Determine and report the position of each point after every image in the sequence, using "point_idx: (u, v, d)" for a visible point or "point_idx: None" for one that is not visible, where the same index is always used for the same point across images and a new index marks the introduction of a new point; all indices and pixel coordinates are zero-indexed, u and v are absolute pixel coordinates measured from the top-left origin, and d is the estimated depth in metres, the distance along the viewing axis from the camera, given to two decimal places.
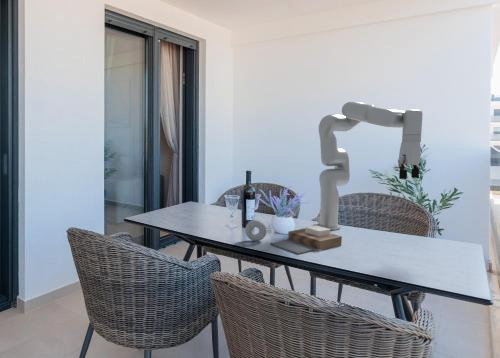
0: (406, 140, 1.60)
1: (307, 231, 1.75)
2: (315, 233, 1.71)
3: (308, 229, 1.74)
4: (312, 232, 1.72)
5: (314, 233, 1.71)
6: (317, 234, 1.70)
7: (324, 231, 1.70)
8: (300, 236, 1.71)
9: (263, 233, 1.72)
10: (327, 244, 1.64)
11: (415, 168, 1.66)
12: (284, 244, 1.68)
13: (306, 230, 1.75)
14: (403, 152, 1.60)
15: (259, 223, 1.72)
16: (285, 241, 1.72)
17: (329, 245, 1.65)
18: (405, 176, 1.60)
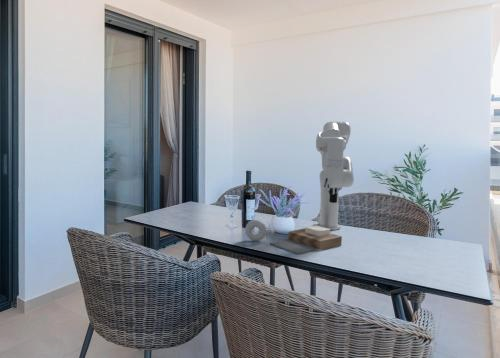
0: (329, 165, 1.75)
1: (307, 231, 1.75)
2: (315, 233, 1.71)
3: (308, 229, 1.74)
4: (312, 232, 1.72)
5: (314, 233, 1.71)
6: (317, 234, 1.70)
7: (324, 231, 1.70)
8: (300, 236, 1.71)
9: (263, 233, 1.72)
10: (327, 244, 1.64)
11: None
12: (284, 244, 1.68)
13: (306, 230, 1.75)
14: (326, 176, 1.75)
15: (259, 223, 1.72)
16: (285, 241, 1.72)
17: (329, 245, 1.65)
18: (334, 200, 1.77)
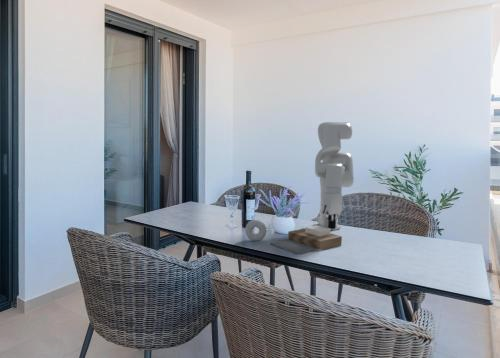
0: (327, 192, 1.76)
1: (307, 231, 1.75)
2: (315, 233, 1.71)
3: (308, 229, 1.74)
4: (312, 232, 1.72)
5: (314, 233, 1.71)
6: (317, 234, 1.70)
7: (324, 231, 1.70)
8: (300, 236, 1.71)
9: (263, 233, 1.72)
10: (327, 244, 1.64)
11: (332, 217, 1.80)
12: (284, 244, 1.68)
13: (306, 230, 1.75)
14: (325, 203, 1.76)
15: (259, 223, 1.72)
16: (285, 241, 1.72)
17: (329, 245, 1.65)
18: (332, 226, 1.79)
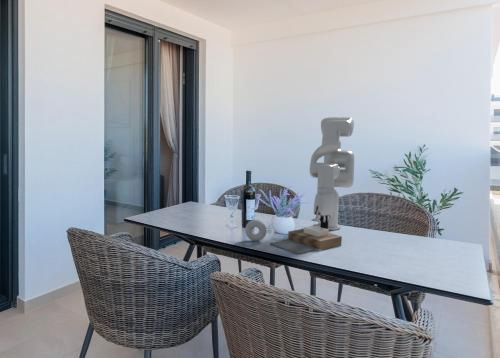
0: (319, 192, 1.73)
1: (305, 231, 1.74)
2: (313, 233, 1.70)
3: (306, 229, 1.74)
4: (310, 232, 1.72)
5: (312, 233, 1.71)
6: (315, 234, 1.69)
7: (322, 231, 1.70)
8: (300, 236, 1.71)
9: (263, 233, 1.72)
10: (327, 244, 1.64)
11: None
12: (284, 244, 1.68)
13: (304, 230, 1.75)
14: (317, 204, 1.73)
15: (259, 223, 1.72)
16: (285, 241, 1.72)
17: (329, 245, 1.65)
18: (325, 227, 1.75)
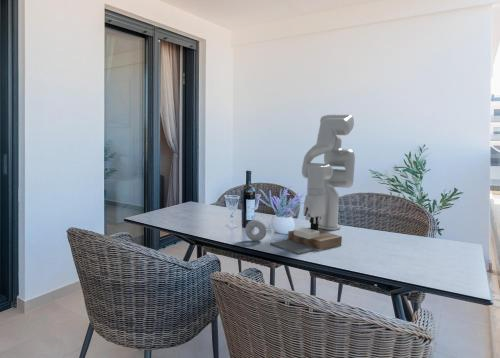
0: (309, 194, 1.69)
1: (296, 234, 1.70)
2: (304, 236, 1.66)
3: (297, 231, 1.69)
4: (301, 234, 1.67)
5: (303, 236, 1.66)
6: (306, 237, 1.65)
7: (313, 233, 1.66)
8: None
9: (263, 233, 1.72)
10: (327, 244, 1.64)
11: None
12: (284, 244, 1.68)
13: (295, 233, 1.70)
14: (306, 205, 1.69)
15: (259, 223, 1.72)
16: (285, 241, 1.72)
17: (329, 245, 1.65)
18: (315, 229, 1.71)
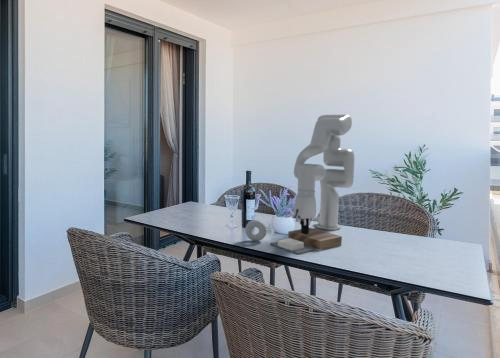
0: (299, 195, 1.65)
1: None
2: None
3: None
4: None
5: None
6: None
7: (298, 247, 1.61)
8: (300, 236, 1.71)
9: (263, 233, 1.72)
10: (327, 244, 1.64)
11: None
12: None
13: None
14: (297, 206, 1.65)
15: (259, 223, 1.72)
16: None
17: (329, 245, 1.65)
18: (305, 231, 1.68)
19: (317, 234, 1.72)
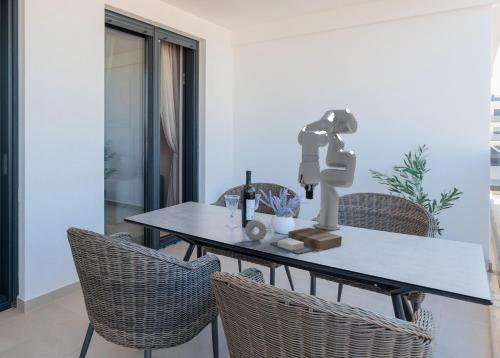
0: (304, 160, 1.68)
1: None
2: None
3: None
4: None
5: None
6: None
7: (298, 247, 1.61)
8: (300, 236, 1.71)
9: (263, 233, 1.72)
10: (327, 244, 1.64)
11: None
12: None
13: None
14: (301, 172, 1.68)
15: (259, 223, 1.72)
16: None
17: (329, 245, 1.65)
18: (310, 196, 1.71)
19: (317, 234, 1.72)
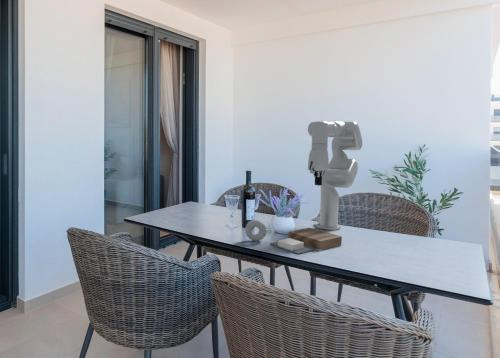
0: (313, 148, 1.79)
1: None
2: None
3: None
4: None
5: None
6: None
7: (298, 247, 1.61)
8: (300, 236, 1.71)
9: (263, 233, 1.72)
10: (327, 244, 1.64)
11: None
12: None
13: None
14: (311, 159, 1.79)
15: (259, 223, 1.72)
16: None
17: (329, 245, 1.65)
18: (319, 182, 1.82)
19: (317, 234, 1.72)
